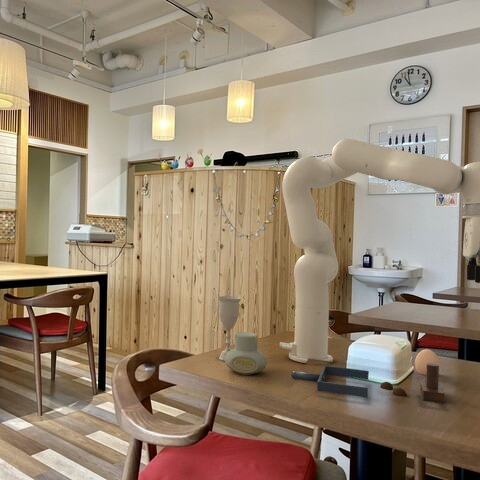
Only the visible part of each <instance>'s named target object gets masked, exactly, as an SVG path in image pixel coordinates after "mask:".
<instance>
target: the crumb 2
mask: <svg viewBox="0 0 480 480" xmlns="http://www.w3.org/2000/svg"><path fill="white" fill-rule="evenodd" d="M392 395H393V396H395V397H401V398H404V397H405V398H406V397H407V396H408V395H407V391H406V390H405V389H404V388H401V387H396V388H393V390H392Z"/></svg>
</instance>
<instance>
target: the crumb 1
mask: <svg viewBox="0 0 480 480" xmlns="http://www.w3.org/2000/svg"><path fill="white" fill-rule="evenodd" d="M379 388H380V389H382V390H385V391H394V385H393V384H392V383H391V382H389V381H383V382H381V384H380V386H379Z"/></svg>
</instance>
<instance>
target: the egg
mask: <svg viewBox="0 0 480 480" xmlns="http://www.w3.org/2000/svg"><path fill="white" fill-rule="evenodd" d="M427 363H433V364H437V365H439V371H440V370H441V363H440V359H439V357H438V355H437V354H436V353H435V352H434V351H433V350H431V349H429V348H425V349H422V350H421V351H419V353H418V354H417V355H416V357H415V360H414V368H415V370H416V372H417V373H418V374H420V375H424V376H426V366H427Z"/></svg>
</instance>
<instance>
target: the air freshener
mask: <svg viewBox="0 0 480 480" xmlns="http://www.w3.org/2000/svg"><path fill="white" fill-rule="evenodd" d="M258 337H259V336H258V334H256V333H254V332H249V331H239V332H236V333H235V334H234V348H232V349H231V350H230V351H229V352H228V353H227V354H226V356H225V361H224V363H225V365H226V366H227V368H229V369H230V370H231V371H233V372H234V373H237V374H239V375H242V376H251V375H253V374H257V373H261V372H262V371H263V370H264V369H265V368H266V366H267V364H268V363H267V362H268V360H267V358H266V356H265V354H264V353H263V352H261V351H260V350H258Z"/></svg>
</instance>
